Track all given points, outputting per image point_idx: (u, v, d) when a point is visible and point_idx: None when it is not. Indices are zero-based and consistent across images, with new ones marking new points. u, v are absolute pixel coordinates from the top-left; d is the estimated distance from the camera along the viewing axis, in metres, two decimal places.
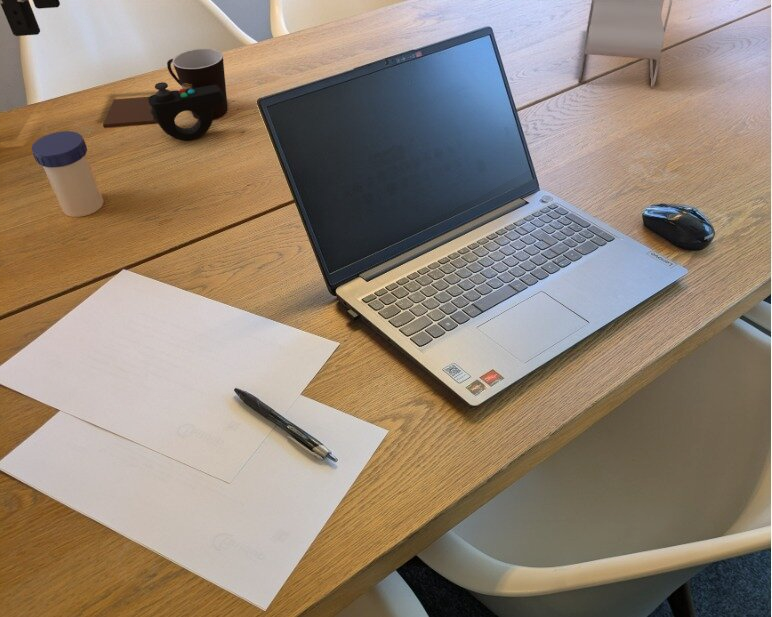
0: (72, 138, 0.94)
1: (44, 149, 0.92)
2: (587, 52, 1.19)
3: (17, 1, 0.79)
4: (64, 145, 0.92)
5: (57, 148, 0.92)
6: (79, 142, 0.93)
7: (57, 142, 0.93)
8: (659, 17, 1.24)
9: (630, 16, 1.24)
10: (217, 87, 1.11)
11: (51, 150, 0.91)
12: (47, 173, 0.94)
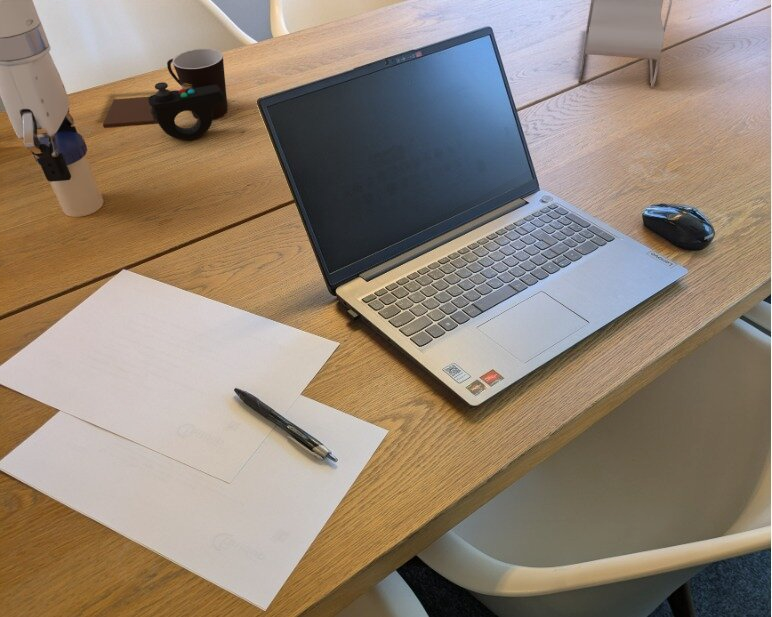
0: (72, 138, 0.94)
1: None
2: (587, 52, 1.19)
3: (52, 156, 0.89)
4: (64, 145, 0.92)
5: (57, 148, 0.92)
6: (79, 142, 0.93)
7: (57, 142, 0.93)
8: (659, 17, 1.24)
9: (630, 16, 1.24)
10: (217, 87, 1.11)
11: None
12: None
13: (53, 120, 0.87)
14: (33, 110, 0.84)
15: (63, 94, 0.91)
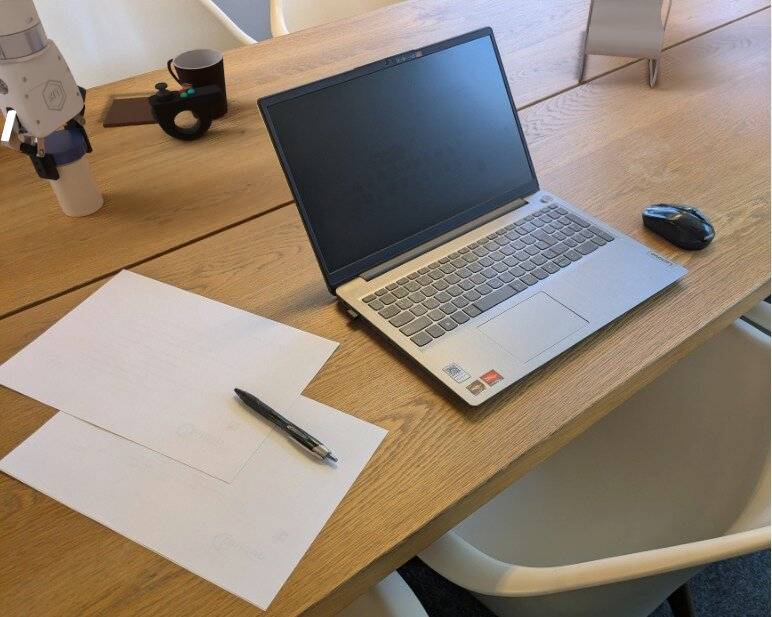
0: None
1: (72, 137, 0.93)
2: (587, 52, 1.19)
3: None
4: (54, 137, 0.93)
5: (62, 135, 0.94)
6: None
7: (56, 141, 0.92)
8: (659, 17, 1.24)
9: (630, 16, 1.24)
10: (217, 87, 1.11)
11: (68, 134, 0.94)
12: None
13: None
14: None
15: None
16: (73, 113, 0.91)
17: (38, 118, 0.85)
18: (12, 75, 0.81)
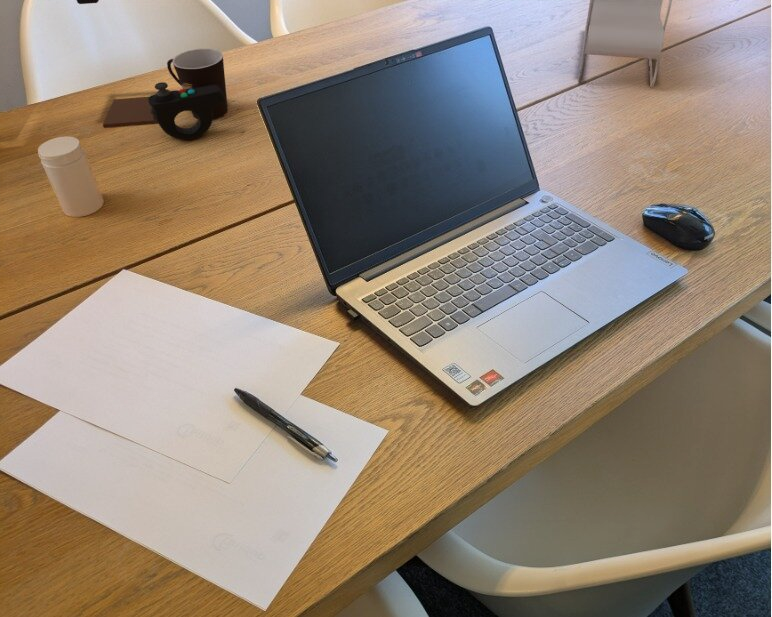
0: None
1: None
2: (587, 52, 1.19)
3: None
4: None
5: None
6: None
7: None
8: (658, 17, 1.24)
9: (629, 16, 1.24)
10: (217, 87, 1.11)
11: None
12: (47, 173, 0.94)
13: None
14: None
15: None
16: None
17: None
18: None
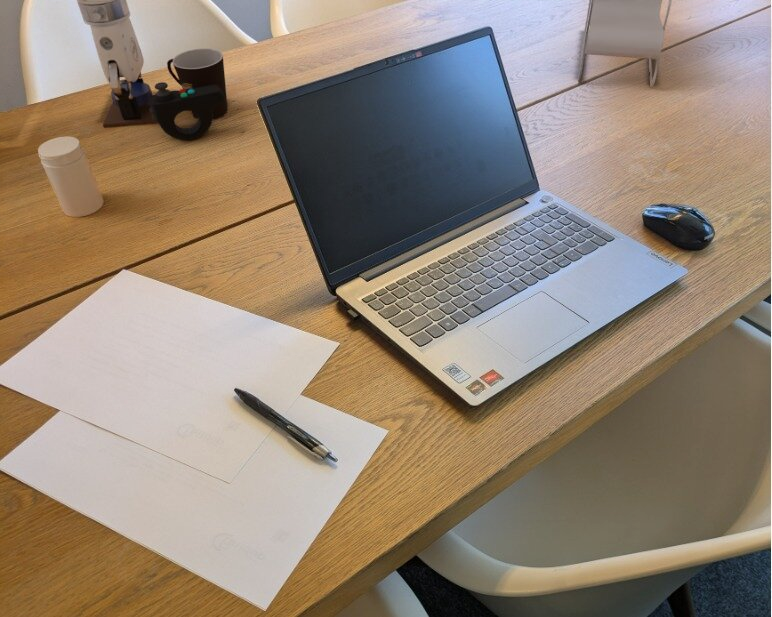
0: None
1: (139, 85, 1.20)
2: (587, 52, 1.19)
3: None
4: None
5: None
6: None
7: None
8: (658, 17, 1.24)
9: (629, 16, 1.24)
10: (217, 87, 1.11)
11: (134, 85, 1.21)
12: (47, 173, 0.94)
13: None
14: None
15: None
16: (142, 64, 1.18)
17: (132, 66, 1.12)
18: (116, 32, 1.08)
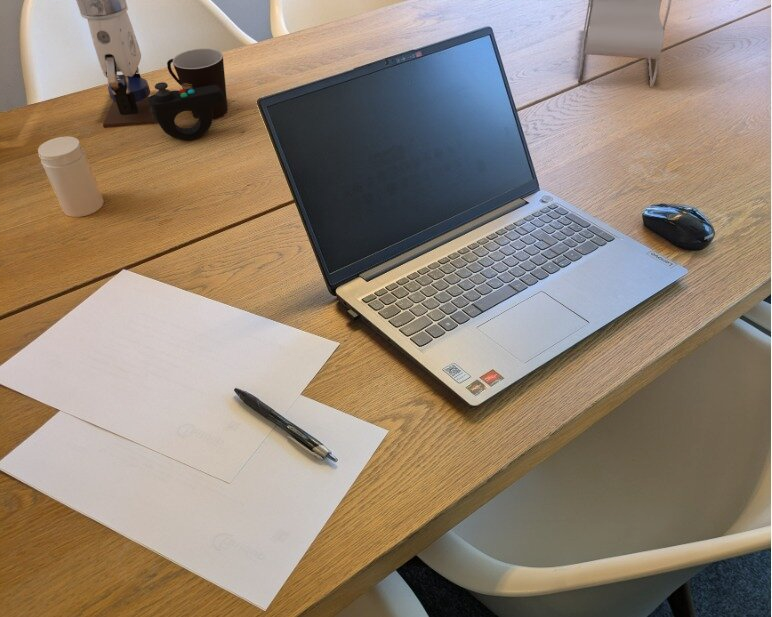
0: None
1: (136, 80, 1.20)
2: (587, 52, 1.19)
3: None
4: None
5: None
6: None
7: None
8: (657, 17, 1.24)
9: (628, 16, 1.24)
10: (217, 87, 1.11)
11: (131, 80, 1.20)
12: (47, 173, 0.94)
13: None
14: None
15: None
16: (139, 59, 1.17)
17: (129, 60, 1.12)
18: (113, 26, 1.07)
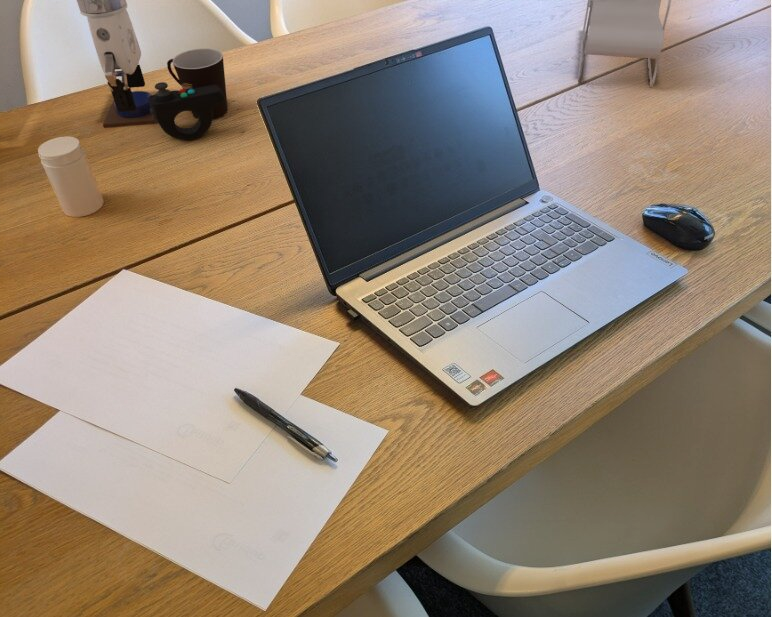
0: None
1: (141, 94, 1.21)
2: (587, 52, 1.19)
3: None
4: None
5: None
6: None
7: None
8: (657, 16, 1.24)
9: (628, 16, 1.25)
10: (217, 87, 1.11)
11: (136, 94, 1.22)
12: (47, 173, 0.94)
13: None
14: None
15: None
16: (139, 57, 1.17)
17: (129, 58, 1.11)
18: (113, 24, 1.07)
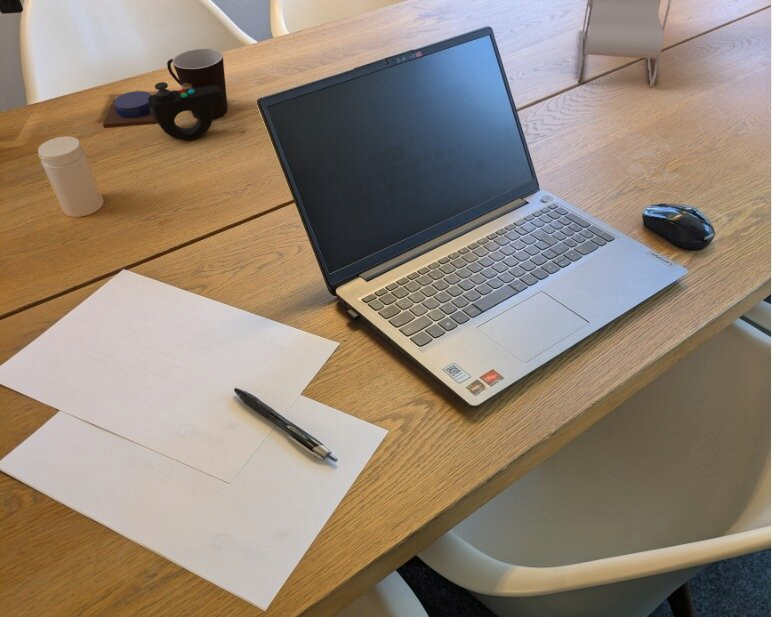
0: (121, 102, 1.19)
1: (141, 94, 1.21)
2: (587, 52, 1.19)
3: None
4: (127, 97, 1.21)
5: (132, 95, 1.21)
6: (115, 99, 1.20)
7: (132, 99, 1.20)
8: (656, 16, 1.24)
9: (628, 16, 1.25)
10: (217, 87, 1.11)
11: (136, 94, 1.22)
12: (47, 173, 0.94)
13: None
14: None
15: None
16: None
17: None
18: None
